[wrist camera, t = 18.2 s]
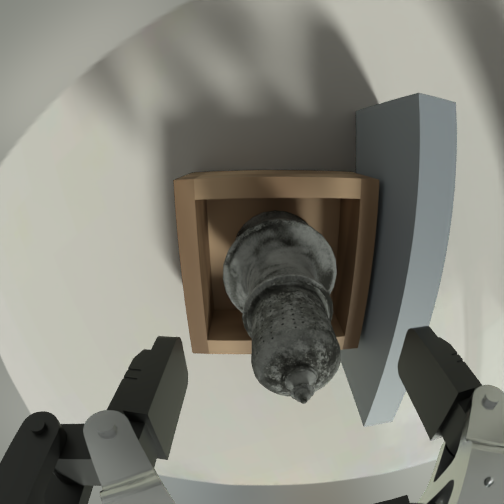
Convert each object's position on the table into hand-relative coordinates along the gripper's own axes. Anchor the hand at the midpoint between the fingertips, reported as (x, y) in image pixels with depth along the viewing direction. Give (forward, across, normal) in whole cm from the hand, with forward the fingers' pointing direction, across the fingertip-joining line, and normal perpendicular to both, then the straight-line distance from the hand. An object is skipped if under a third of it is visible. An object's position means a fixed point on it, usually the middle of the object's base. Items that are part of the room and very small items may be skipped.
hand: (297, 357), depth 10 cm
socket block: (+10, 0, 0) cm, 11 cm away
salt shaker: (+10, 0, 0) cm, 10 cm away
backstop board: (+11, -6, 0) cm, 12 cm away
